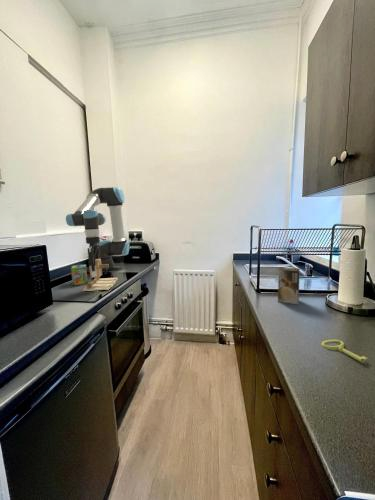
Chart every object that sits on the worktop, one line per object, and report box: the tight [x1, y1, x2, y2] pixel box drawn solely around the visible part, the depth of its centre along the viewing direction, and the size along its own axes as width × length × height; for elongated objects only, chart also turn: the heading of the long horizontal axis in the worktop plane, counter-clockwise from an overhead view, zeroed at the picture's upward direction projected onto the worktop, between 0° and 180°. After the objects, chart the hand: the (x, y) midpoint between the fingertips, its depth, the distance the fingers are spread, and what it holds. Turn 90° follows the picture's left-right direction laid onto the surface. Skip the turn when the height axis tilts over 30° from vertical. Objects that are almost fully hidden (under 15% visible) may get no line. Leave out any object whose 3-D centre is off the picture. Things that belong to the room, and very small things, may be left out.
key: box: [320, 339, 368, 363], centre depth 70 cm, size 7×12×2 cm, turn 33°
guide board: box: [82, 276, 119, 292], centre depth 142 cm, size 22×15×4 cm
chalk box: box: [70, 260, 89, 287], centre depth 148 cm, size 9×9×15 cm
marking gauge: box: [88, 259, 109, 279], centre depth 134 cm, size 6×10×10 cm, turn 94°
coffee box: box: [277, 266, 301, 305], centre depth 108 cm, size 9×6×16 cm
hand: (96, 274), depth 135 cm, fingers closed on marking gauge, 6 cm apart
